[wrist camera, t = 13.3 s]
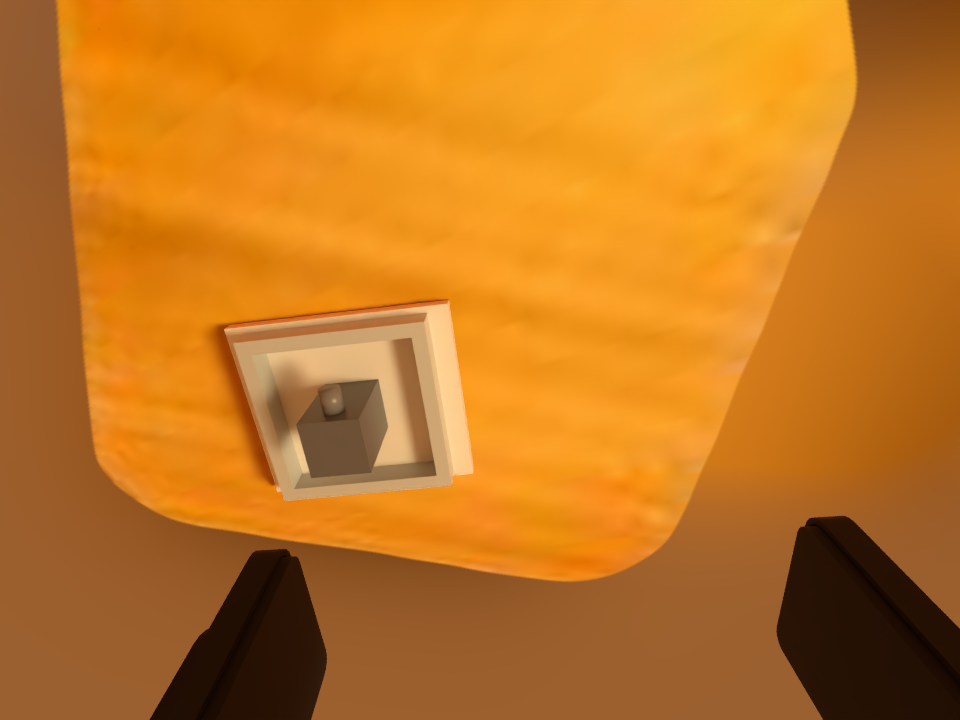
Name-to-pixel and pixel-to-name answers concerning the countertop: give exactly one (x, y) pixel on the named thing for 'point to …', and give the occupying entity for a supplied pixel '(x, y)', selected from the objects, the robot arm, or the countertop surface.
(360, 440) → the connector plug
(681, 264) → the countertop surface
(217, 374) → the countertop surface
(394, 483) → the tray
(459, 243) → the countertop surface
